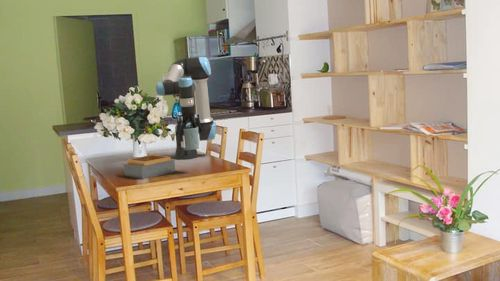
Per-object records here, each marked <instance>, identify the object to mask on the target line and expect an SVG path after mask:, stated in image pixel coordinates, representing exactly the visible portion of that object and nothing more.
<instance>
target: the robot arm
mask: <svg viewBox="0 0 500 281" xmlns="http://www.w3.org/2000/svg"><path fill="white" fill-rule="evenodd" d="M211 70H212V68H211V64H210V61H209V59H208V58H207V57H206V56H195V57H182V58H180V59H177V60H176V61H174V62H172V63H171V65H170V66H169V67H168V71H167V72H168V73H167V75H166V76H165V78H164V80H163V81H160V82H157V83H156V85H155V86H156V87H155V89H156V94H157V96H162V97H163V96H164V97H165V96H175V95H176V96H177V95H179V105H180V113H181V116H178V117H176V119H177V121H176V122H177V123H176V124H175V125H174V129H175V130H174V132H175V142H176V144H175V145H176V148H175V153H174V160H175V159H176V160H190V159H195V158H198V157H199V153H198V151H197V150H198V149H195V150H184V149H183V148H185V137H184V136H183V134H184V130H183V129H185V128H186V127H190V126H193V127H194V128H197V127H198V138H199V141H198V142H199V146H200V145H201V141H204V142H205V141H213V140H215V138H216V133H217V122H216V121H214V118H212V117H211V108H210V99H209V90H208V89H209V88H208V80H209V78H210V75H212V71H211ZM195 109H196V111H195ZM195 112H196V113H195Z"/></svg>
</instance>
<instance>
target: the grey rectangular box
mask: <svg viewBox="0 0 500 281" xmlns="http://www.w3.org/2000/svg"><path fill="white" fill-rule="evenodd" d="M175 164H176V163H175V159H171V156H166V155H158V154H150V155H145V156H144V155H143V156H139V157H135V158H130V159H127V160H126V162H125V163H123V169H124V170H123V172H124V176H125V177H128V176H129V177H128V178H134V179H140V180H145V179H149V178H154V177H159V176H162V175H169V174H172V173H176V166H175Z"/></svg>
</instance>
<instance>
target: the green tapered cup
mask: <svg viewBox="0 0 500 281" xmlns="http://www.w3.org/2000/svg"><path fill="white" fill-rule="evenodd" d="M183 130H184V134H183V136H184V137H185V148H183V149H184V150H195V149H196V150H198V149H199V146H200V145H199V142H198V141H199V138H198V127H197V128H194V127H193V126H190V127H186V128H185V129H183Z"/></svg>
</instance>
